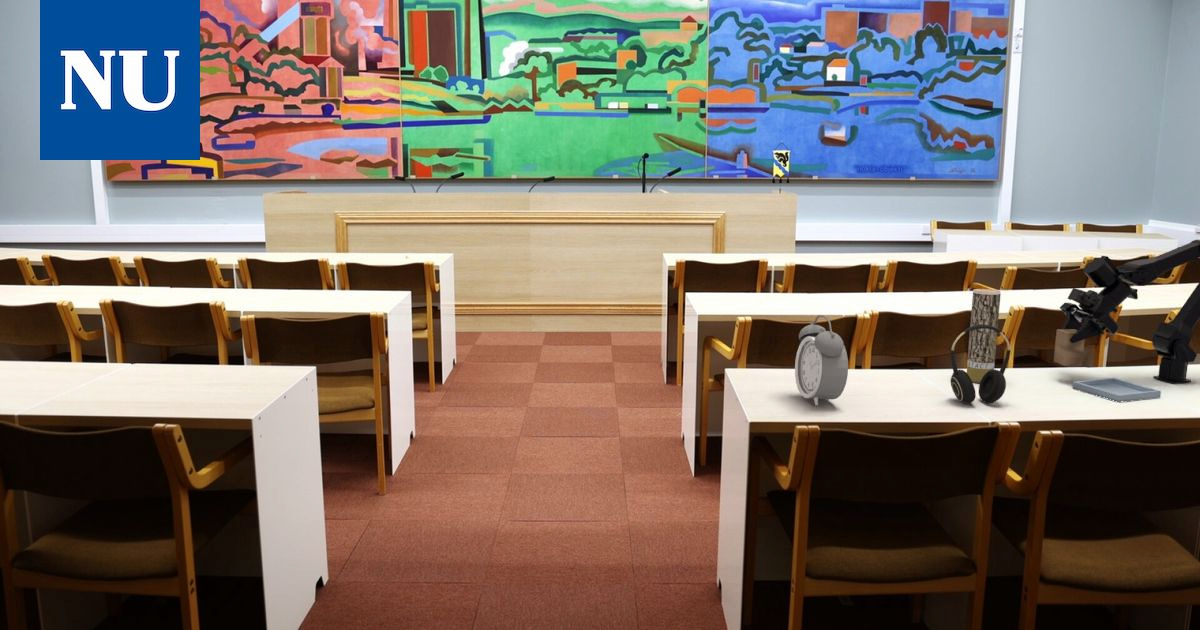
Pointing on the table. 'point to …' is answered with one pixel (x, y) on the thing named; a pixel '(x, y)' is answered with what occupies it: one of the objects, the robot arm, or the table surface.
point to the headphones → (990, 383)
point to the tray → (1116, 389)
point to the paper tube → (983, 333)
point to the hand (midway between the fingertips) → (1065, 339)
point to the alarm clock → (820, 363)
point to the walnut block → (1068, 348)
